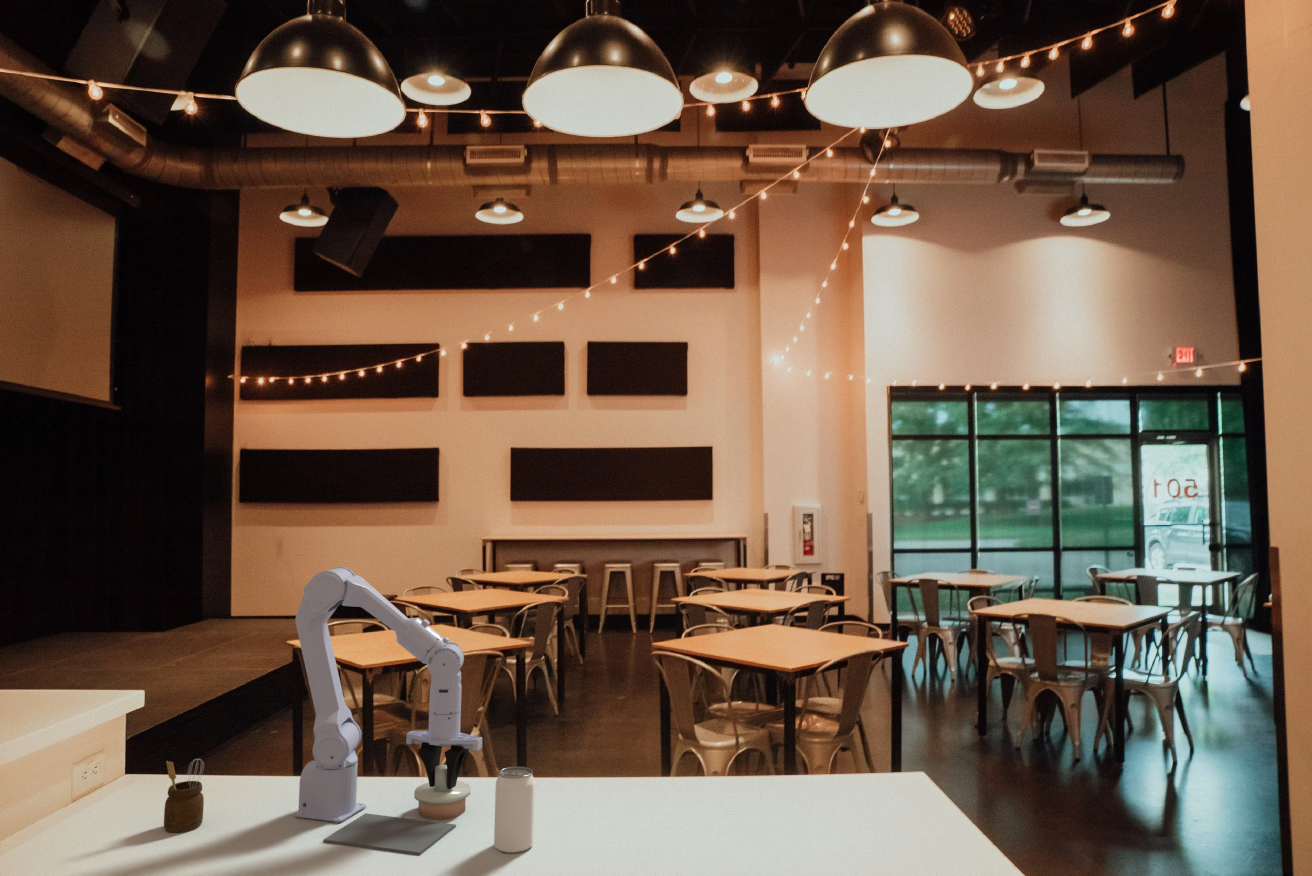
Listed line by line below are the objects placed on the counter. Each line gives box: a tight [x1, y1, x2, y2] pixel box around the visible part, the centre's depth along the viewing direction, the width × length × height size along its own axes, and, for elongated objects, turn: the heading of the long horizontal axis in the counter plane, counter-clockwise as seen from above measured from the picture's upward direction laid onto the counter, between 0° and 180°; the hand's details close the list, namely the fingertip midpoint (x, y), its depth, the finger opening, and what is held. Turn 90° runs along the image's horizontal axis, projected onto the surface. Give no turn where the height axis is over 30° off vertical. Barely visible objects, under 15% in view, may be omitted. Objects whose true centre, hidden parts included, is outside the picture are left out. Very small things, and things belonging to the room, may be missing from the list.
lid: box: [413, 764, 471, 804], centre depth 154 cm, size 10×10×5 cm
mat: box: [322, 813, 457, 856], centre depth 142 cm, size 18×12×1 cm, turn 76°
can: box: [493, 766, 536, 854], centre depth 139 cm, size 6×6×12 cm
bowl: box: [417, 797, 467, 821], centre depth 153 cm, size 8×8×3 cm
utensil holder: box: [163, 758, 205, 834], centre depth 145 cm, size 6×6×12 cm
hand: (442, 786), depth 154 cm, fingers closed on lid, 3 cm apart
